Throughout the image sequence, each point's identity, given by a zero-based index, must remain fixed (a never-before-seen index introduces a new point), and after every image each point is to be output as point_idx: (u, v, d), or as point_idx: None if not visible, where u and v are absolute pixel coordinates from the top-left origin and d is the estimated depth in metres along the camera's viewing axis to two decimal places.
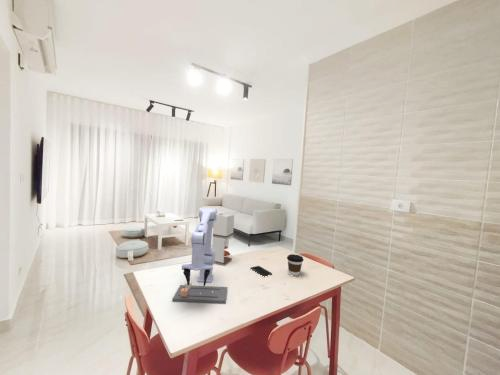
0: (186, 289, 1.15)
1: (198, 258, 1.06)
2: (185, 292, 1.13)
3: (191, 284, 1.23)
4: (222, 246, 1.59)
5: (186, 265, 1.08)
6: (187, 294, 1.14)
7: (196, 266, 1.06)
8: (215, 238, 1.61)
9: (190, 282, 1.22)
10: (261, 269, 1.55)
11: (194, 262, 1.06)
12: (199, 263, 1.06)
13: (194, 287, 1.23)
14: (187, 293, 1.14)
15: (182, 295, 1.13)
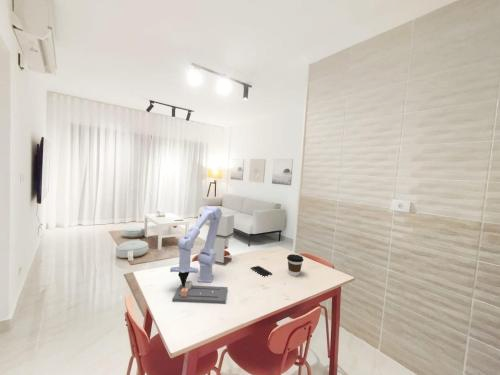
0: (186, 289, 1.15)
1: (181, 261, 1.19)
2: (185, 292, 1.13)
3: (191, 284, 1.23)
4: (222, 246, 1.59)
5: (174, 268, 1.21)
6: (187, 294, 1.14)
7: (183, 269, 1.19)
8: None
9: (190, 282, 1.22)
10: (261, 269, 1.55)
11: (181, 265, 1.19)
12: (185, 266, 1.19)
13: (194, 287, 1.23)
14: (187, 293, 1.14)
15: (182, 295, 1.13)
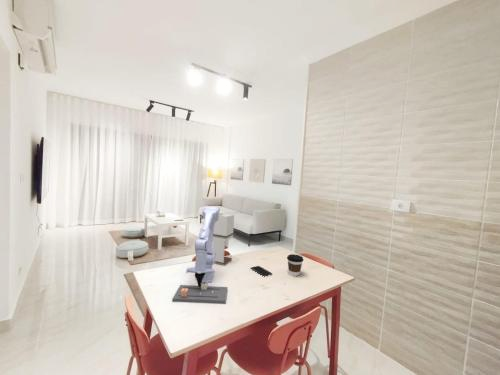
0: (186, 289, 1.15)
1: (201, 262, 1.19)
2: (185, 292, 1.13)
3: (207, 285, 1.23)
4: (222, 246, 1.59)
5: (190, 268, 1.22)
6: (187, 294, 1.14)
7: (199, 269, 1.19)
8: (215, 238, 1.61)
9: (206, 283, 1.23)
10: (261, 269, 1.55)
11: (197, 266, 1.19)
12: (202, 267, 1.20)
13: (194, 287, 1.23)
14: (187, 293, 1.14)
15: (182, 295, 1.13)
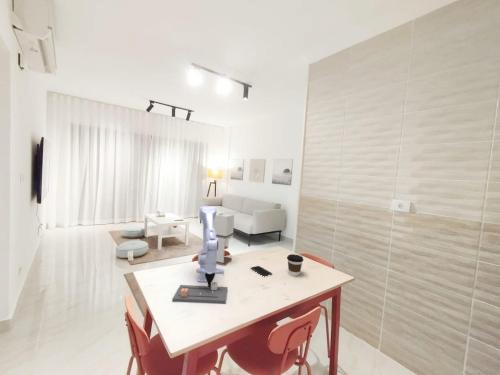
0: (186, 289, 1.15)
1: (213, 263, 1.20)
2: (185, 292, 1.13)
3: (217, 285, 1.24)
4: (222, 246, 1.59)
5: (200, 269, 1.22)
6: (187, 294, 1.14)
7: (209, 270, 1.19)
8: None
9: (216, 283, 1.23)
10: (261, 269, 1.55)
11: (208, 266, 1.19)
12: (212, 267, 1.20)
13: (194, 287, 1.23)
14: (187, 293, 1.14)
15: (182, 295, 1.13)
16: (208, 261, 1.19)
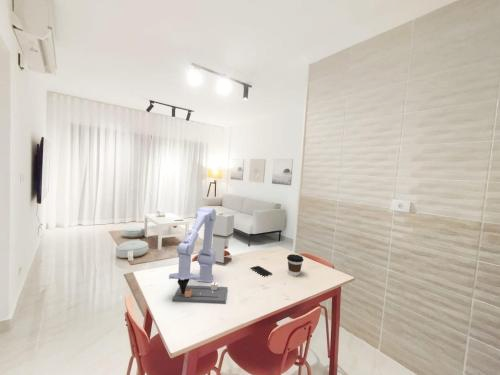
0: (190, 289, 1.15)
1: (182, 268, 1.11)
2: (189, 292, 1.13)
3: (217, 285, 1.24)
4: (222, 246, 1.59)
5: (173, 274, 1.14)
6: (191, 294, 1.14)
7: (182, 275, 1.11)
8: (215, 238, 1.61)
9: (216, 283, 1.23)
10: (261, 269, 1.55)
11: (180, 272, 1.11)
12: (185, 273, 1.11)
13: (194, 287, 1.23)
14: (191, 293, 1.14)
15: (186, 295, 1.13)
16: (179, 265, 1.12)
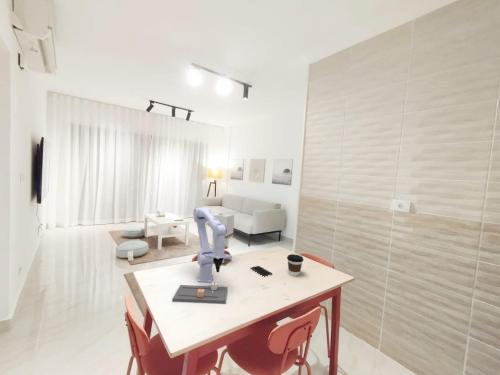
0: (202, 290, 1.15)
1: (222, 247, 1.22)
2: (202, 293, 1.13)
3: (217, 285, 1.24)
4: None
5: (209, 254, 1.24)
6: (203, 295, 1.15)
7: (218, 255, 1.21)
8: None
9: (216, 283, 1.23)
10: (261, 269, 1.55)
11: (216, 251, 1.22)
12: (220, 252, 1.22)
13: (194, 287, 1.23)
14: (203, 294, 1.15)
15: (198, 296, 1.13)
16: (218, 246, 1.21)
